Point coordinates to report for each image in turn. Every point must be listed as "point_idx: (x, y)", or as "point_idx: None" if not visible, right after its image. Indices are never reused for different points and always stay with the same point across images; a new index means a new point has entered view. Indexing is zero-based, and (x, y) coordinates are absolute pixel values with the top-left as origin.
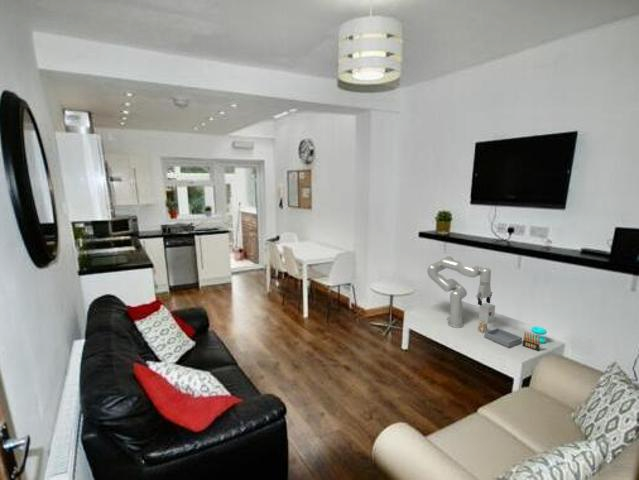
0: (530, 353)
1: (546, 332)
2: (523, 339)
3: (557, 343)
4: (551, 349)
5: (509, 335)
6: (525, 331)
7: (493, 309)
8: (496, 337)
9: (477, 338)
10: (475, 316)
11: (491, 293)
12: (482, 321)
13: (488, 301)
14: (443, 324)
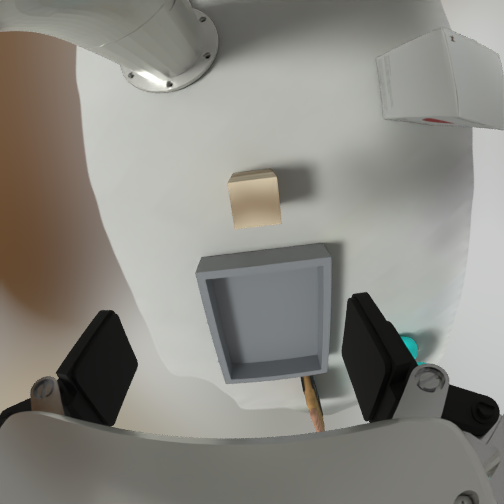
0: (270, 401)
1: None
2: (305, 391)
3: None
4: None
5: (320, 322)
6: (315, 424)
7: (479, 126)
8: (212, 337)
9: (157, 250)
10: (391, 22)
11: (490, 463)
12: (269, 188)
13: (350, 358)
14: None
